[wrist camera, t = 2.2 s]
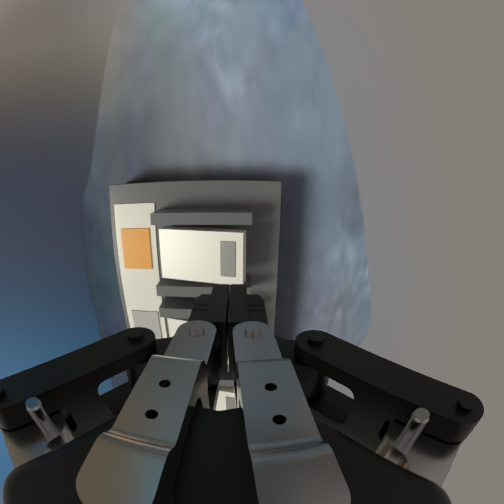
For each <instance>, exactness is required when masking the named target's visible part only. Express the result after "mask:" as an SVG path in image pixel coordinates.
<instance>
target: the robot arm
mask: <svg viewBox="0 0 504 504" xmlns="http://www.w3.org/2000/svg"><path fill="white" fill-rule="evenodd" d="M228 358H229V373H233V377H234V395H235V405H236V408H234V409H228V410H221V411H217V410H216V405H217V399H218V394H219V389H220V382H219V381H220V379H221V373H227V369H228ZM123 371H126V374H127V377H128V380H129V381H128V382H126V383H124V384H122V385H120V386H118V387H116V388H114V389H112V390H110V391H108V392H106V393H104V394H102V395H100V396H99V394H98V387H99V385H100V383H101V382H103V381H104V380H106V379H109V378H111V377H113V376H115V375H117V374H119V373H121V372H123ZM329 378H331V379H333V380H334V381H336V382H338V383H340V384H342V385H344V386H346V387H347V388H349V389H350V390H351V391H352V393H353V395H354V399H352V398H350V397H348V396H346V395H344V394H343V393H341V392H339V391H337V390H335V389H333V388H332V387H330V386H328V385H327V383H328V379H329ZM483 413H484V408H483V404H482V402H481V401H480V399H478V397H476V396H475V395H473V394H472V393H470V392H467V391H464V390H462V389H459V388H456V387H454V386H451V385H448V384H446V383H443V382H441V381H438V380H435V379H433V378H430V377H428V376H425V375H423V374H420V373H418V372H415V371H413V370H411V369H408V368H406V367H403V366H401V365H399V364H396V363H394V362H392V361H389V360H387V359H385V358H382V357H380V356H377V355H375V354H373V353H371V352H368V351H366V350H364V349H362V348H359V347H357V346H355V345H353V344H350V343H348V342H346V341H344V340H342V339H339V338H337V337H335V336H333V335H331V334H329V333H326V332H323V331H318V330H309V331H304V332H302V333H300V334H298V335H297V337H296V340H295V341H293V340H286V339H282V338H279V337H277V336H275V335H274V333H273V330H272V328H271V327H270V326H269V325H268V321H267V315H266V311H265V305H264V299H263V298H261V297H260V296H259V295H258V294H247V285H246V284H231V286H230V285H229V284H213V288H212V292H211V294H201V295H200V296H199V297H197V298H196V300H195V302H194V305H193V308H192V311H191V314H190V317H189V320H188V322H186V323H183V324H182V325H180V326H179V327H178V329H177V331H176V333H175V334H174V336H173V337H169V338H161V339H156V338H155V334H154V332H153V331H152V330H150V329H148V328H144V327H133V328H129V329H126V330H124V331H121V332H119V333H116V334H114V335H112V336H109V337H107V338H104V339H102V340H100V341H97V342H95V343H92V344H90V345H87V346H85V347H83V348H80V349H78V350H75V351H73V352H70V353H68V354H65V355H63V356H61V357H58V358H55V359H53V360H50V361H48V362H45V363H42V364H40V365H37V366H35V367H32V368H30V369H27V370H24V371H22V372H20V373H17V374H14V375H11V376H9V377H6V378H4V379H1V380H0V430H1V432H2V434H3V437H4V440H5V443H6V446H7V449H8V452H9V455H10V458H11V460H12V463H13V465H14V468H15V469H14V470H13V471H12V472H11V473H10V474H9V476H8V477H7V479H6V481H5V484H4V488H3V502H4V504H451V501H450V499H449V497H448V495H447V494H446V492H445V491H444V490H443V489H442V488H441V486H442V484H443V482H444V480H445V478H446V476H447V474H448V472H449V470H450V467H451V465H452V463H453V461H454V458H455V456H456V453H457V451H458V449H459V447H460V445H461V444H462V443H463V441H464V440H465V439H466V438H467V437H468V435H469V434H470V433H471V431H472V430H473V429H474V427H475V426H476V425H477V423H478V422H479V420H480V419H481V417H482V416H483Z"/></svg>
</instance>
